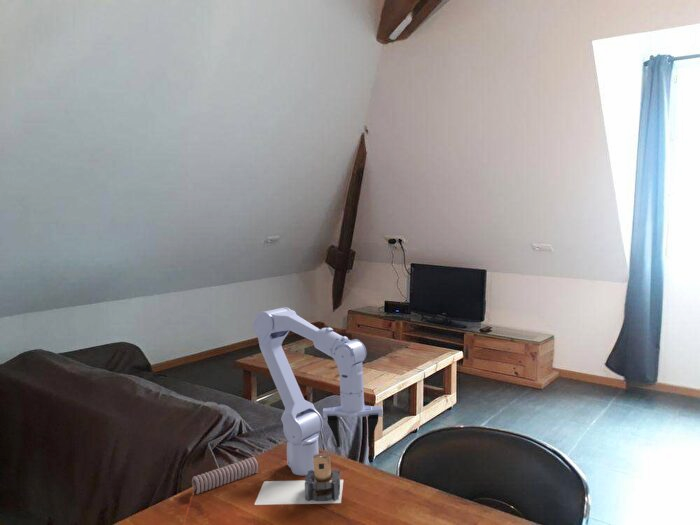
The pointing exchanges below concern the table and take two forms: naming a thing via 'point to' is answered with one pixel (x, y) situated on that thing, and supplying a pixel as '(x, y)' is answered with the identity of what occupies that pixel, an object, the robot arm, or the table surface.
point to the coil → (225, 475)
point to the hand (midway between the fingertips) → (354, 445)
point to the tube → (322, 470)
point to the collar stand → (322, 487)
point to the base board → (288, 493)
